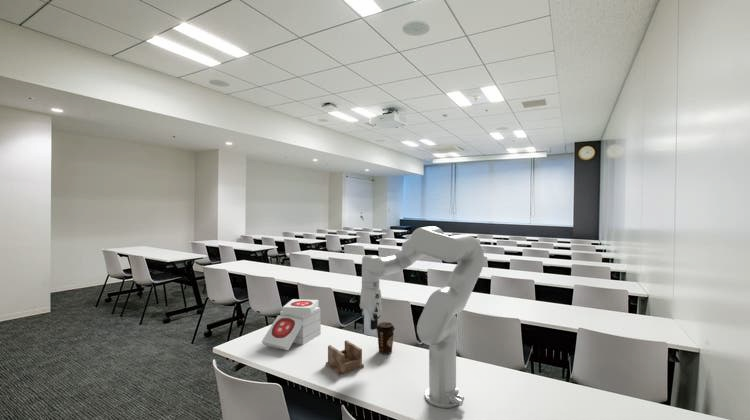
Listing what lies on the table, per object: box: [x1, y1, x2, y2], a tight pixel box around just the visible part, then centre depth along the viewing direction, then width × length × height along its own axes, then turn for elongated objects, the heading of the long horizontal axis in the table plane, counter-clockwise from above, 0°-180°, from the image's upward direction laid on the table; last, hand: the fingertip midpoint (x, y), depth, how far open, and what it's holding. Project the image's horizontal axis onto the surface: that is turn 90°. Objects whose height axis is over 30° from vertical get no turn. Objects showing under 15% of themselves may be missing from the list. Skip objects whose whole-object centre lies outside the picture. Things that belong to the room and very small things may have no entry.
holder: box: [325, 340, 365, 377], centre depth 142 cm, size 12×12×8 cm
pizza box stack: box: [261, 298, 322, 351], centre depth 169 cm, size 19×30×18 cm, turn 154°
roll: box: [363, 308, 377, 337], centre depth 140 cm, size 5×5×11 cm
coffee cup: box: [376, 321, 396, 355], centre depth 156 cm, size 9×8×13 cm
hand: (370, 326), depth 140 cm, fingers closed on roll, 5 cm apart
